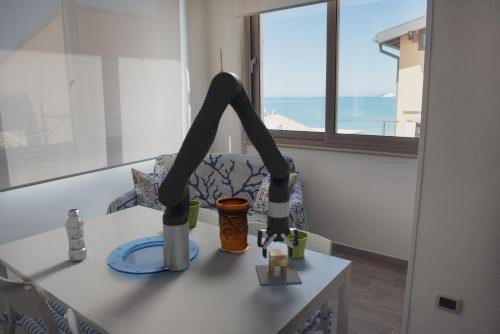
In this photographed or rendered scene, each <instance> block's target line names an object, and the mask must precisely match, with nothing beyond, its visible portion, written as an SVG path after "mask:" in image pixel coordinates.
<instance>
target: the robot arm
mask: <svg viewBox="0 0 500 334" xmlns="http://www.w3.org/2000/svg"><path fill="white" fill-rule="evenodd" d="M206 92H207V93H206V94H205V98H204V100H203V103H202V105H201V108H200V109H199V111H198V113H197V114H196V116H195V118H194V120H193V122H192V124H191V125H190V127H189V129H188V131H187V133H186V135H185V138H184V139H183V142H182V143H181V146H180V148H179V150H178V152H177V154H176V155H175V156H176V157H175V158H174V161H173V163H172V165H171V168H170V170H169V171H168V173H167V174H166V175H165V177H164V178H163V181H162V182H161V183H160V185H159V187H158V189H157V199H158V202H159V204H160V205H162V206H163V207H165V210H164V212H163V214H162V216H161V217H162V234H163V235H162V236H163V244H162V251H163V252H162V254H163V256H162V257H163V269H164V268H168V269H169V270H168V271H171V272H181V271H184V270H186V269H189V268H190V267H191V266H190V265H191V257H190V256H191V254H190V253H191V252H190V233H189V232H190V231H189V230H190V228H189V225H188V216H189V212H190V200H191V193H190V192H191V191H190V187H189V184H188V182H189V180H190V178H191V176H192V175H193V174H194V172H195V171H196V170H197V168H199V166H200V165H201V164H202V163H203V161H204V160H205V158H206V157H207V156H208V153H209V151H210V150H211V149H212V145H213V144H214V143H215V142H214V141H215V139H216V137H217V134H218V129H219V124H220V121H221V119H222V116H223V115H224V113H225V111H226V109H227V108H228V106H230V107H231V108H232V109H233V111H234V113H235V114H236V116H237V117H238V119H239V121H240V123H241V126H242V128H243V130H244V132H245V135H246V136H247V138H248V140H249V141H250V143H251V145H253V147H254V149H255V150H256V152H257V154H258V155H259V156H260V159H261V161H262V162H263V165H264V167H265V169H266V171H267V172H268V173H269V184H268V197H267V198H268V199H267V200H268V201H267V206H266V208H267V209H266V216H267V218H266V222H267V223H266V226H267V227H266V229H262V228H258V229H257V236H256V237H257V238H256V244H257V247H258V248H261V254H262V258H264V259H268V258H267V257H268V247H269V245H271V243H277V242H279V243H283V242H284V241H285V243H286V245H287V244H288V245H289V246H288V248H287V258H291V256H292V255H293V247H294V246H298V245H299V243H298V231H299V230H298V228H297V227H293V228H290V186H289V183H290V174H291V161H290V160H289V158H288V157H287V156H286V155H285V154H282V152H281V151H280V149H279V148H278V146H277V143H276V140H275V138H274V137H273V134H272V133H271V132H270V130H269V128H268V127H267V126H266V124H265V123H264V121H263V120H262V118H261V117H260V115H259V114H258V113H257V111H256V109H255V107H254V105H253V104H252V102H251V100H250V98H249V96H248V93H247V91H246V88H245V87H244V85H243V82H242V79H241V78H240V76H238V75H237V74H236V73H234V72H231V71H221V72H218V73H217V74H215V75H214V77H213V78H212V79H211V81H210V84H209V86H208V90H207V91H206ZM290 232H291V233H292V235H293V238H294V241H293V242H291V241H290V240H289V238H288V237H287V236H288V235H289V234H290ZM265 234H266V235H267V237H266V238H265V240H264V241H263V237H264V236H265Z"/></svg>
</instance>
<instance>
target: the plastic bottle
mask: <svg viewBox="0 0 500 334" xmlns="http://www.w3.org/2000/svg"><path fill="white" fill-rule="evenodd" d="M79 211H80V210H79V209H78V208H72V209H69V210H67V216H68V218H67V219H66V221H65V222H64V223H65V224H64V227H65V230H66V234H67V239H68V251H67V252H68V253H67V254H68V255H67V257H68V258H69V260H70V261H72V262H79V261H82V260H85V259H86V258H87V256H88V255H87V253H88V250H87V247H86V244H85V239H84V237H85V236H84V225H85V224H84V223H85V221H84V220H83V218H81V216H79V215H80V212H79Z"/></svg>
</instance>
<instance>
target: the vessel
mask: <svg viewBox="0 0 500 334" xmlns="http://www.w3.org/2000/svg"><path fill="white" fill-rule="evenodd" d="M215 207H216V209H217V211H218V212H217V213H218V223H219V240H220V245H219V246H218V248H219V249H220V250H221V251H226V252H231V253H235V254H237V253H242V252H245V251H248V250H249V249H250V245H249V243H248V236H249V223H248V222H249V221H248V213H249V209H250V207H251V202H250V200H249V199H248V198H246V197H238V196H236V197H230V196H229V197H222V198H219V199H217V200H216V202H215Z"/></svg>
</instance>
